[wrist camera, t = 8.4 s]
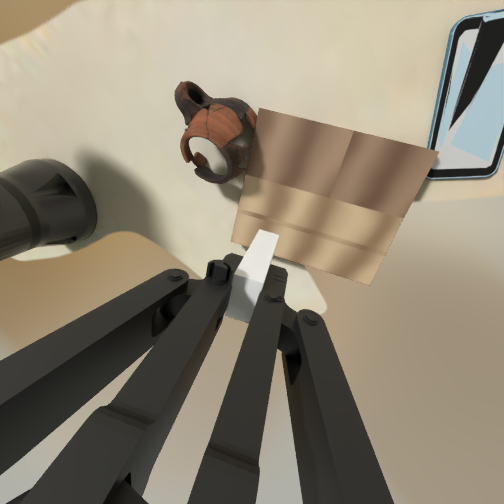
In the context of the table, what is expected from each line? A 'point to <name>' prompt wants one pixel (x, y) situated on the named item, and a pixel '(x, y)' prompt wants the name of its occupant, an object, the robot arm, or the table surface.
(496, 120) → the smartphone
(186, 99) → the pottery mug
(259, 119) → the floor boards
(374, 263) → the plank
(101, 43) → the table surface
